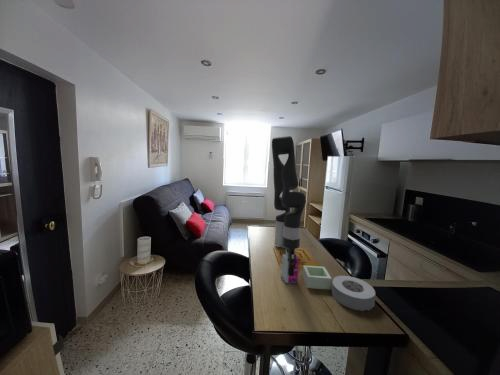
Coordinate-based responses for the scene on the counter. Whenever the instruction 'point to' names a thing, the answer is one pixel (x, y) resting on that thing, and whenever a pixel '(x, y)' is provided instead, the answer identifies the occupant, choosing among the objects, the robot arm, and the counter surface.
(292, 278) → the supplement box
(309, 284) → the holder
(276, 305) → the counter surface
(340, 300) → the tape roll
